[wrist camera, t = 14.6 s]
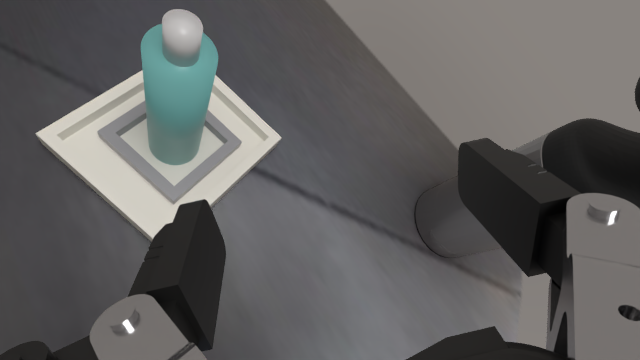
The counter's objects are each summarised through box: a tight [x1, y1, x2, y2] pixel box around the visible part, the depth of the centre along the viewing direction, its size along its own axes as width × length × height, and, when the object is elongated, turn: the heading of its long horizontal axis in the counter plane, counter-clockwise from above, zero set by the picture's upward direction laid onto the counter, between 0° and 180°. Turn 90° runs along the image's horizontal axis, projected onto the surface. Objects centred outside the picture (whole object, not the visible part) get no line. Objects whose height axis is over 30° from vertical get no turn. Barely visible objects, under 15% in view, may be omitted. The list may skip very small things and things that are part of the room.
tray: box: [36, 70, 281, 242], centre depth 35 cm, size 16×14×2 cm
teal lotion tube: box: [141, 9, 218, 165], centre depth 28 cm, size 5×5×16 cm
